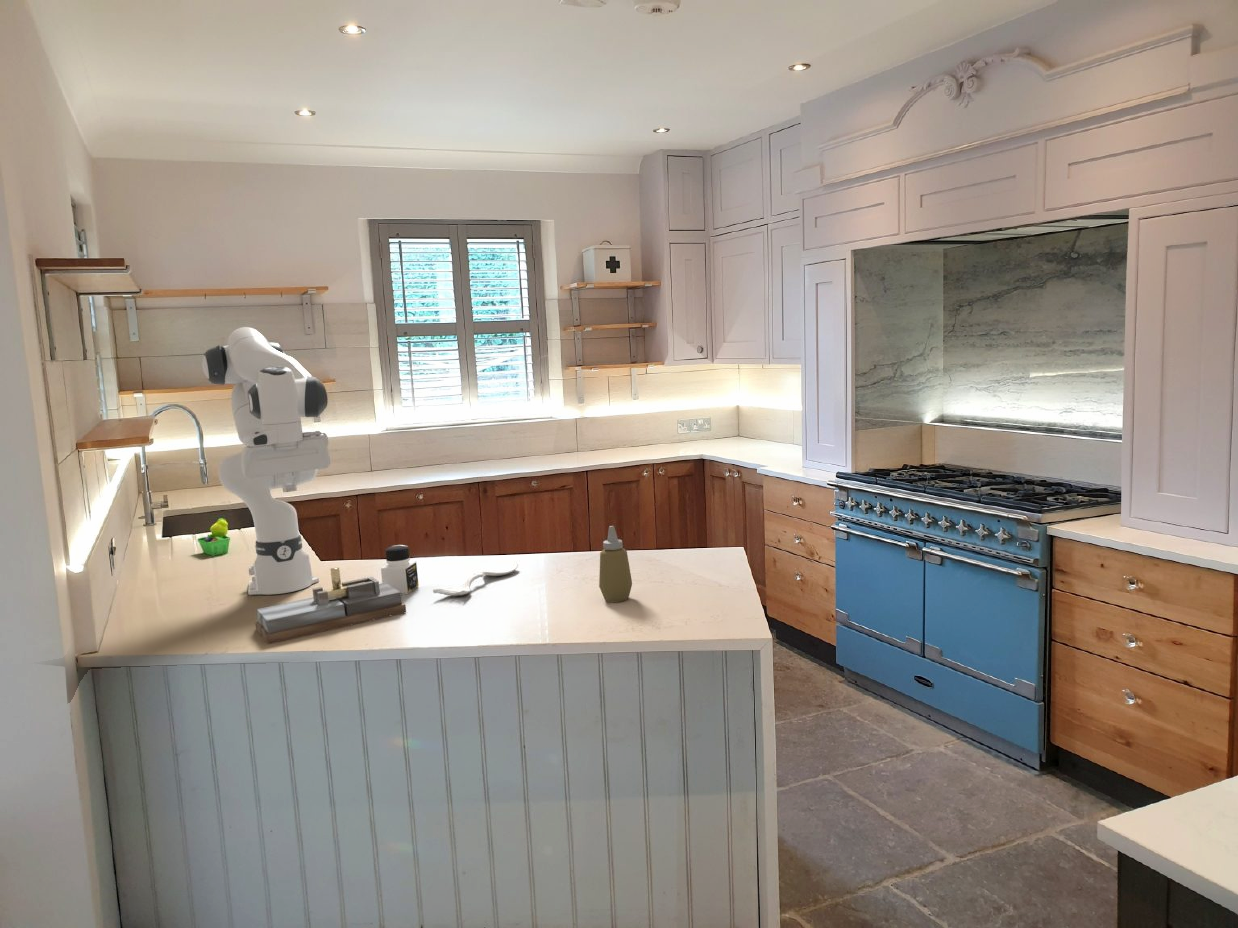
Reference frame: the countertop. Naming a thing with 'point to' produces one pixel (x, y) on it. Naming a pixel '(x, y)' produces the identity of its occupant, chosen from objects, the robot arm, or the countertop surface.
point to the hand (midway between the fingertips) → (289, 491)
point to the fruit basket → (216, 539)
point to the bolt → (337, 585)
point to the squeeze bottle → (614, 569)
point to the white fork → (493, 570)
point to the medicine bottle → (400, 569)
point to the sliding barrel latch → (329, 610)
